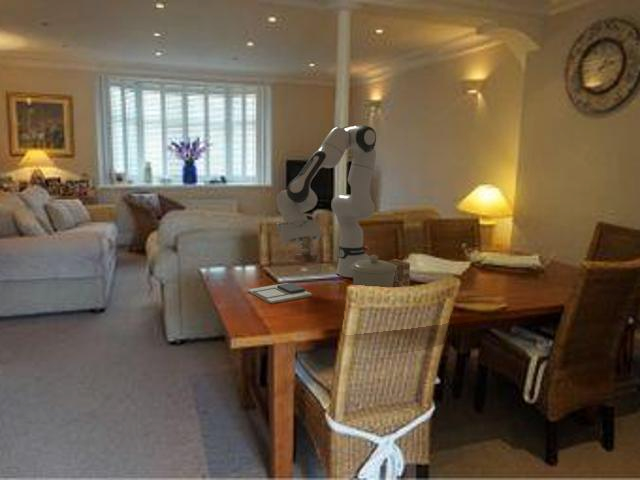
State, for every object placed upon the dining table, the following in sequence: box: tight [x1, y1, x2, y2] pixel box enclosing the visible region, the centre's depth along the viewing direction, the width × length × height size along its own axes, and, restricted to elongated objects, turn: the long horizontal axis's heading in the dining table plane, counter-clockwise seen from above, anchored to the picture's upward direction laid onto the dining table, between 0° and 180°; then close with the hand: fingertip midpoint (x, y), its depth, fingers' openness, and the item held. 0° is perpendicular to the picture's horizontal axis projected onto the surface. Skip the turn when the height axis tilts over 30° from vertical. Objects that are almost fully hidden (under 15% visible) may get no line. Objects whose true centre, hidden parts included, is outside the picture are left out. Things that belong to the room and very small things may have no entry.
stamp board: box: [247, 282, 313, 304], centre depth 226 cm, size 20×20×2 cm
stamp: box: [294, 237, 318, 264], centre depth 230 cm, size 7×7×10 cm
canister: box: [351, 254, 397, 287], centre depth 209 cm, size 18×18×21 cm
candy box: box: [389, 258, 411, 287], centre depth 224 cm, size 9×4×15 cm, turn 33°
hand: (307, 247), depth 230 cm, fingers closed on stamp, 4 cm apart
